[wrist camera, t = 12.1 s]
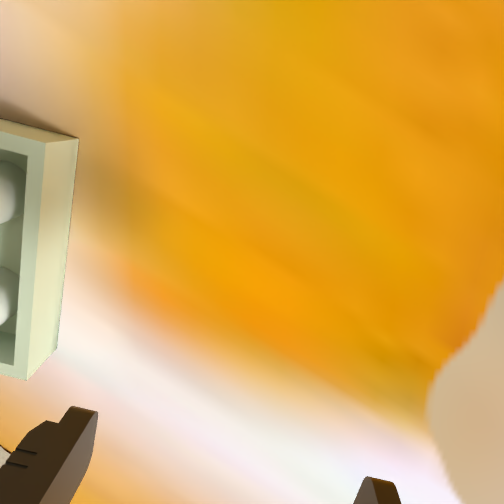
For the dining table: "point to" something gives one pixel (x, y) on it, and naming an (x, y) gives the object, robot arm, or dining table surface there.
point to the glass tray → (32, 242)
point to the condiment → (3, 456)
